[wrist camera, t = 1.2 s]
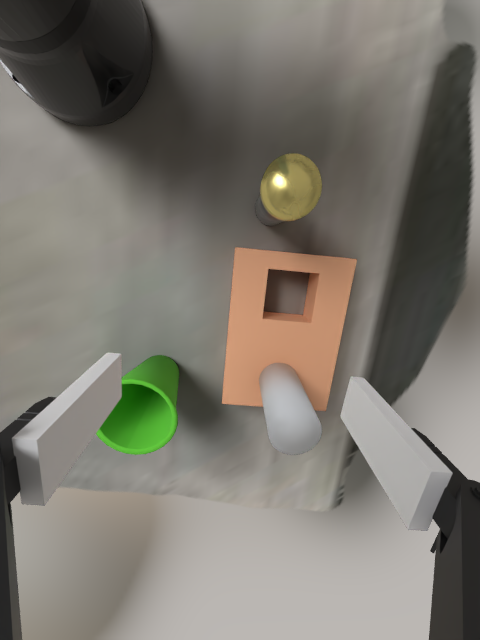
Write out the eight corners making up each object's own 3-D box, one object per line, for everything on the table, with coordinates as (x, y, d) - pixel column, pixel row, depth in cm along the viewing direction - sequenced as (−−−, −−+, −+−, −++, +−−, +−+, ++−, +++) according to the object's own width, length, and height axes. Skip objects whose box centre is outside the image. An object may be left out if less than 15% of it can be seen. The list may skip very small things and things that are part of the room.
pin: (253, 184, 32) (264, 150, 20) (293, 188, 32) (326, 156, 21) (249, 226, 33) (258, 216, 22) (287, 230, 33) (316, 222, 22)
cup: (199, 351, 37) (186, 392, 27) (184, 405, 40) (166, 463, 29) (136, 333, 37) (96, 369, 26) (124, 390, 39) (82, 444, 28)
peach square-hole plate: (235, 247, 34) (235, 248, 20) (343, 257, 34) (413, 265, 21) (223, 388, 39) (217, 463, 26) (317, 395, 40) (359, 471, 26)
